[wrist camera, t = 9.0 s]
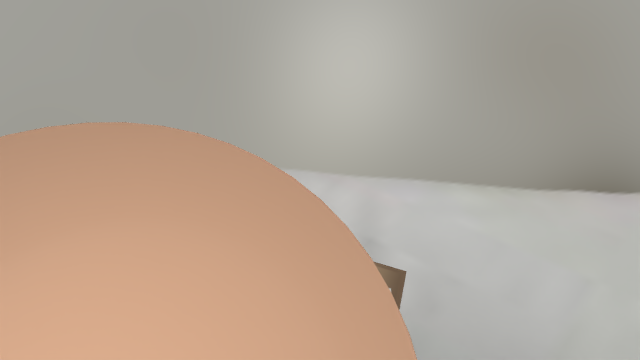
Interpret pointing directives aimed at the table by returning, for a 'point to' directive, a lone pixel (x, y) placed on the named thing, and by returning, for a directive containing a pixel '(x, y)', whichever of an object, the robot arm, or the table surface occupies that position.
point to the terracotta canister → (177, 255)
